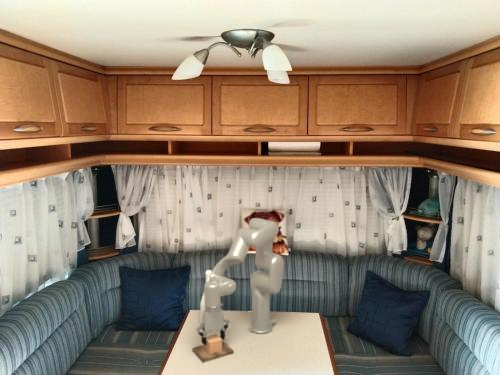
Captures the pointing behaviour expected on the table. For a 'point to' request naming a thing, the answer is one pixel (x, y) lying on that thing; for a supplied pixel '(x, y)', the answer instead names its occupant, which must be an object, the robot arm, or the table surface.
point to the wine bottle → (202, 304)
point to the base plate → (205, 356)
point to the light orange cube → (213, 344)
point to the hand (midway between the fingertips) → (213, 341)
